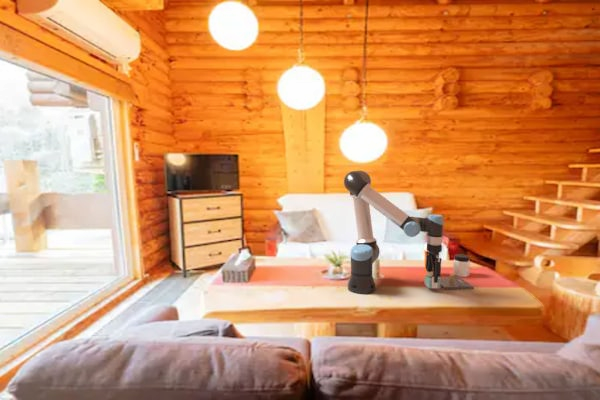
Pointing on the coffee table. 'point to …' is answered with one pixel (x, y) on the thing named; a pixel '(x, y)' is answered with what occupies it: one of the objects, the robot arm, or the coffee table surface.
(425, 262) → the shaker bottle
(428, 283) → the teal open box
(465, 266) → the jar
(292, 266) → the coffee table surface
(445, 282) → the hub plate
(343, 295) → the coffee table surface
